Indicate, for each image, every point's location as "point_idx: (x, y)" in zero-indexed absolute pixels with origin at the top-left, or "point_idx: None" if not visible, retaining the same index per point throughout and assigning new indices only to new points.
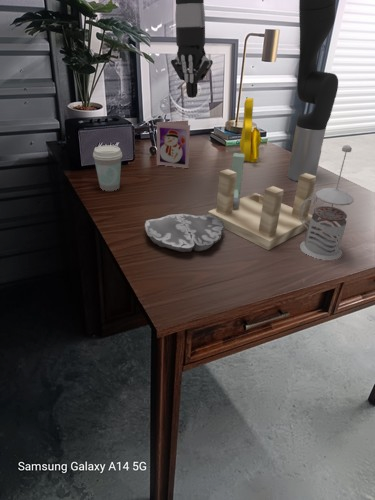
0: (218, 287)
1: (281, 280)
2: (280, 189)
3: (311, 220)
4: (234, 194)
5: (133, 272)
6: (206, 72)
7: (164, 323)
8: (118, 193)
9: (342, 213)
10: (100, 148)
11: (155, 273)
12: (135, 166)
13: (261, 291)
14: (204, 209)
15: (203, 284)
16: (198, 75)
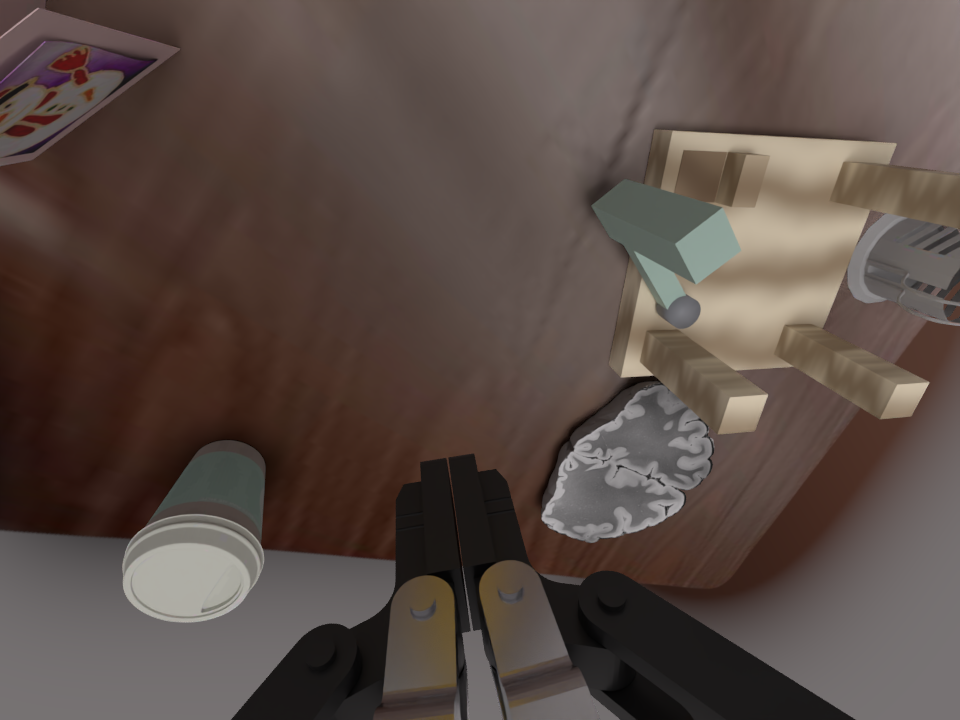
0: (749, 497)
1: (833, 411)
2: (920, 386)
3: (937, 312)
4: (655, 268)
5: (620, 572)
6: (743, 666)
7: (722, 581)
8: (294, 465)
9: None
10: (155, 596)
11: (649, 549)
12: (5, 268)
13: (810, 455)
14: (563, 327)
15: (726, 510)
16: (650, 704)
